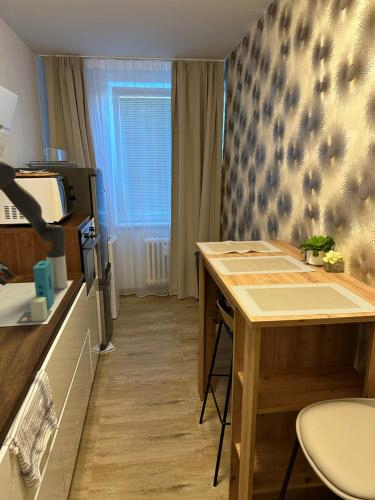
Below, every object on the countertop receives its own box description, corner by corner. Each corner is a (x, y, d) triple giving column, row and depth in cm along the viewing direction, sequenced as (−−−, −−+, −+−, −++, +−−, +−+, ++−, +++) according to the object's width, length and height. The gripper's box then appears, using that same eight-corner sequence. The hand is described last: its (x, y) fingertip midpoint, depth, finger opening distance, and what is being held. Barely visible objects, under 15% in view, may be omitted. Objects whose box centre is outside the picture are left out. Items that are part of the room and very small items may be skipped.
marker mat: (24, 312, 155) (24, 311, 155) (52, 310, 156) (51, 310, 156) (16, 323, 144) (16, 322, 144) (45, 321, 146) (45, 321, 146)
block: (48, 310, 156) (44, 267, 151) (37, 311, 155) (32, 268, 151) (55, 300, 168) (51, 260, 163) (44, 301, 167) (39, 260, 162)
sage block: (35, 316, 150) (33, 297, 148) (47, 315, 151) (45, 297, 149) (31, 321, 145) (29, 302, 143) (44, 320, 146) (42, 301, 144)
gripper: (-27, 251, 131) (9, 279, 135) (-12, 243, 145) (21, 268, 149) (-40, 266, 131) (-4, 293, 136) (-23, 256, 145) (9, 281, 150)
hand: (9, 280), depth 142 cm, fingers open, 8 cm apart
